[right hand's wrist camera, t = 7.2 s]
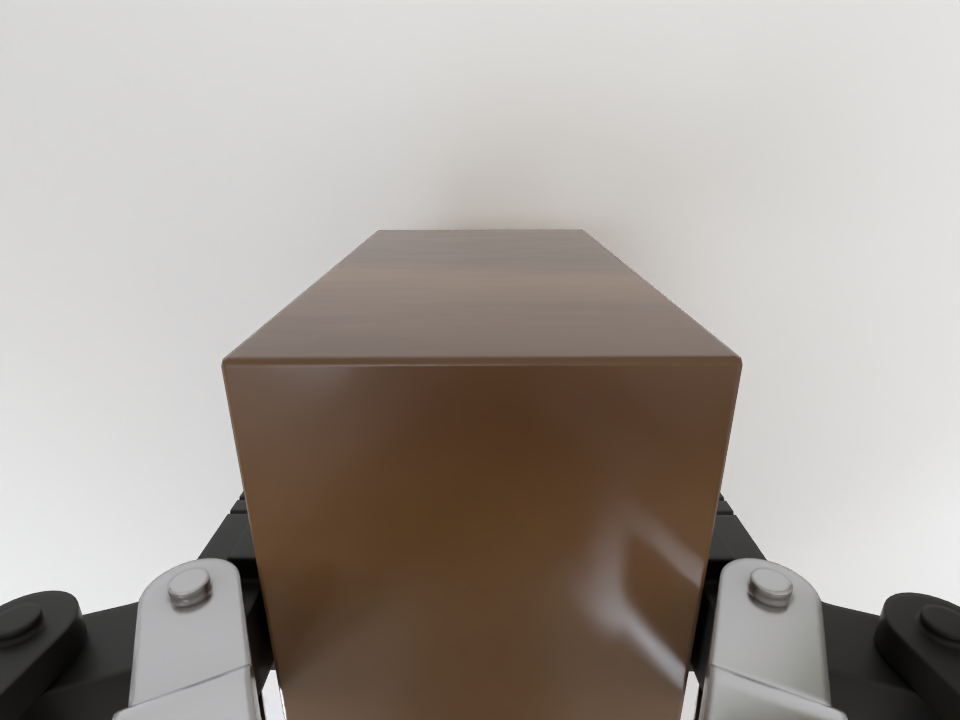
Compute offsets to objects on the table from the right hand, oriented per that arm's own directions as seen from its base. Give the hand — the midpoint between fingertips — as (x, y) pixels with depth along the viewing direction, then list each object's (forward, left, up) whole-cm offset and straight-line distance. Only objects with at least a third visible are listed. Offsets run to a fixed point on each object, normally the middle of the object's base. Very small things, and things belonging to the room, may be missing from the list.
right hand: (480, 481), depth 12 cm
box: (+9, 0, -7) cm, 11 cm away
